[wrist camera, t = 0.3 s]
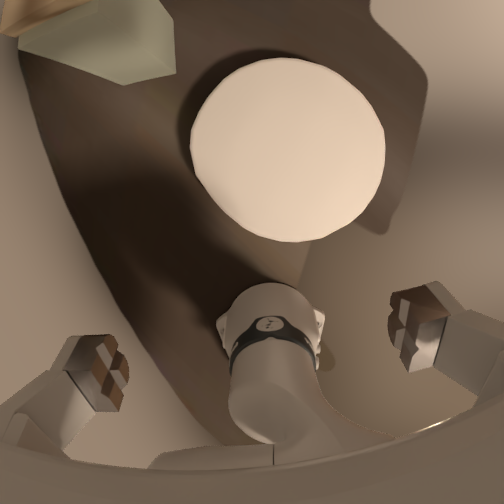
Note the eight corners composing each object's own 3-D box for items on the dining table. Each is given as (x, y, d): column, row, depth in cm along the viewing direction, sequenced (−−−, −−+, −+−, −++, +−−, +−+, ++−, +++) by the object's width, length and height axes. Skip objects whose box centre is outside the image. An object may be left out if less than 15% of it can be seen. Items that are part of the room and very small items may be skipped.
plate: (417, 119, 38) (337, 274, 46) (396, 119, 44) (325, 258, 52) (242, 21, 32) (158, 199, 40) (240, 35, 39) (167, 190, 47)
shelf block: (176, 73, 42) (97, 11, 17) (123, 85, 42) (17, 49, 17) (173, 20, 38) (106, -65, 14) (121, 33, 39) (30, -28, 14)
